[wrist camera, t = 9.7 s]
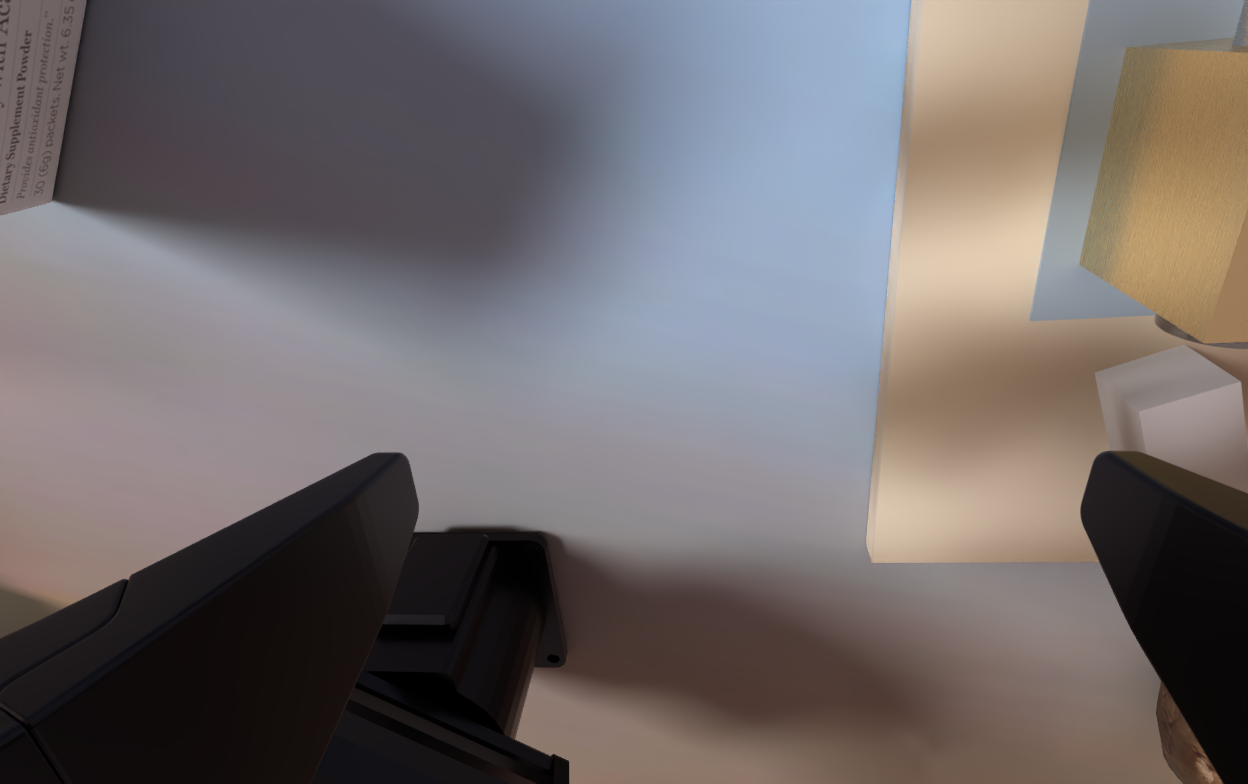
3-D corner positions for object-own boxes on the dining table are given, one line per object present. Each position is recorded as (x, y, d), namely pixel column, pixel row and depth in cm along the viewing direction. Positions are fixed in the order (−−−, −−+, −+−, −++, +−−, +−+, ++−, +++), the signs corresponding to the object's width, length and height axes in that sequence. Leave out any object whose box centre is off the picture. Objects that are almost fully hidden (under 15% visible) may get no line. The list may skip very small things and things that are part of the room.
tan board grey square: (1286, 539, 22) (1372, 614, 19) (865, 542, 24) (887, 612, 21) (1853, -740, 10) (2274, -1021, 8) (957, -551, 12) (1033, -722, 9)
